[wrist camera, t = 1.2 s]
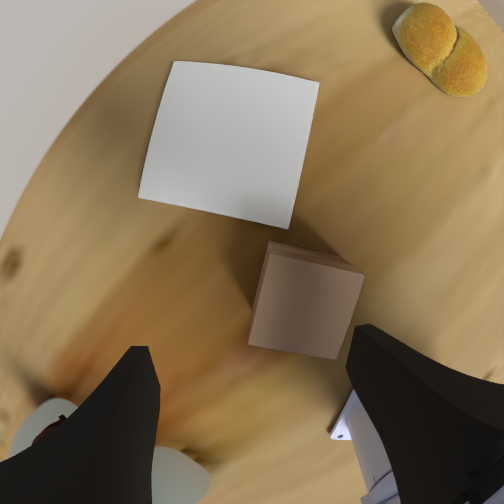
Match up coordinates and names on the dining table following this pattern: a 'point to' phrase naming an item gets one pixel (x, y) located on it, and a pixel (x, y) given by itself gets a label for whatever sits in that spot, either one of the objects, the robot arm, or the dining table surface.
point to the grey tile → (230, 141)
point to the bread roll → (441, 49)
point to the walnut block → (303, 301)
